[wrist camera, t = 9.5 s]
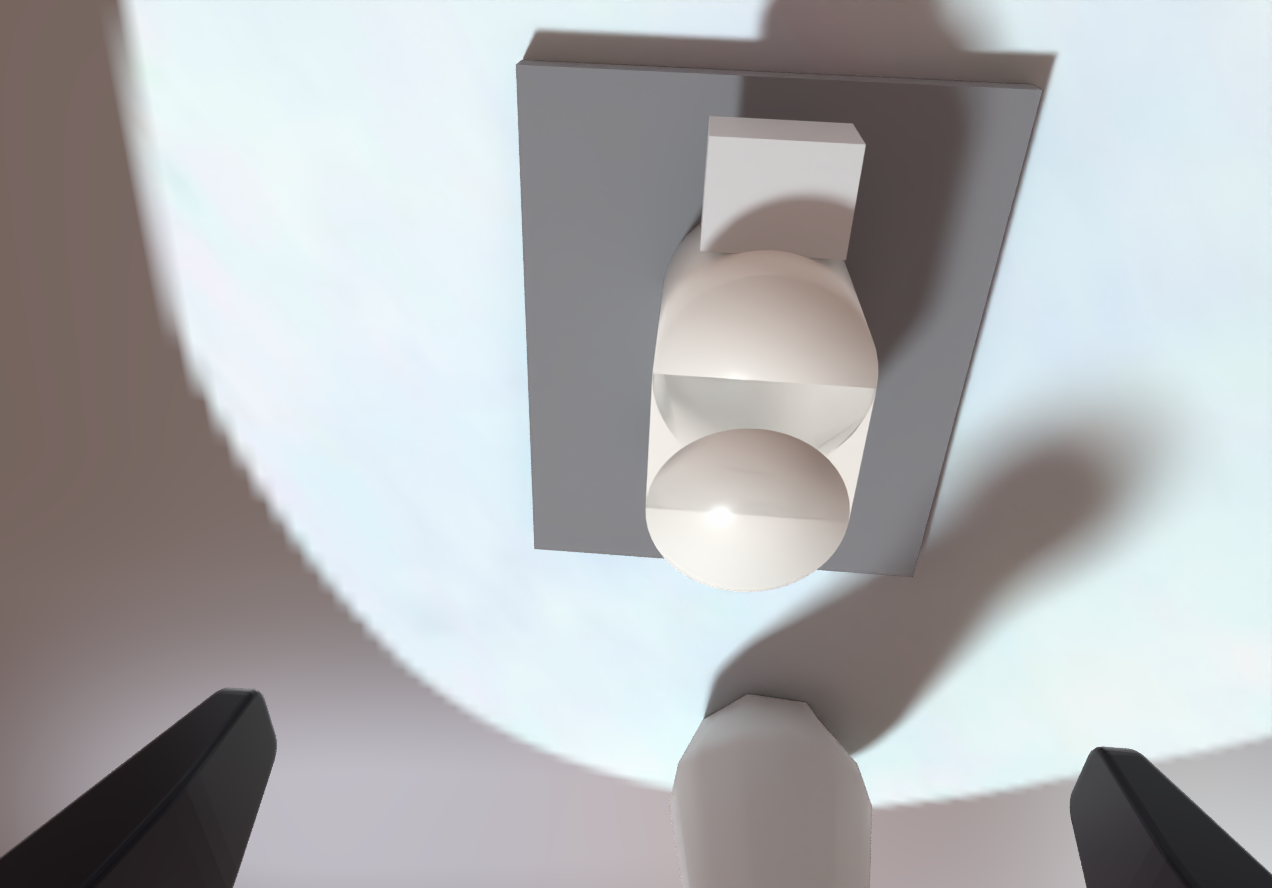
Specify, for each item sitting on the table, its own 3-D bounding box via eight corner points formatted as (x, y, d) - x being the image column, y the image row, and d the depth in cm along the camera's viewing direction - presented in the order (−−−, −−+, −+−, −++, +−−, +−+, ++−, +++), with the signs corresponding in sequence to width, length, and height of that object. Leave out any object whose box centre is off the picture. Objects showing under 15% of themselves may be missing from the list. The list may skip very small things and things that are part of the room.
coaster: (1032, 84, 17) (1042, 90, 16) (908, 562, 23) (912, 576, 23) (522, 59, 17) (515, 64, 17) (538, 534, 24) (534, 549, 23)
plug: (813, 488, 21) (832, 598, 18) (652, 477, 22) (641, 584, 18) (881, 112, 17) (923, 165, 13) (673, 100, 17) (663, 151, 14)
